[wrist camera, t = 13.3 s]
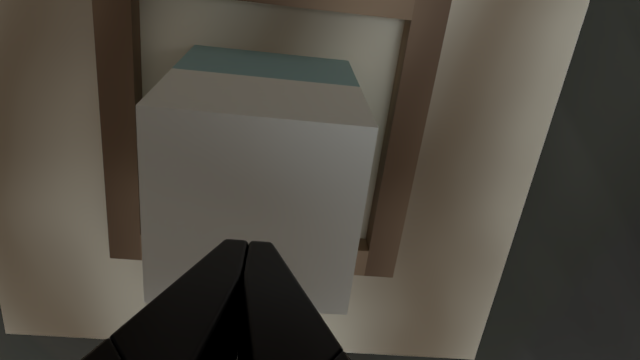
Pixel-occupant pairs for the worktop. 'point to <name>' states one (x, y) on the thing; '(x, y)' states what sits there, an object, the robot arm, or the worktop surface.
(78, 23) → the seating plate
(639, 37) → the worktop surface
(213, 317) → the robot arm
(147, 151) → the block stack
